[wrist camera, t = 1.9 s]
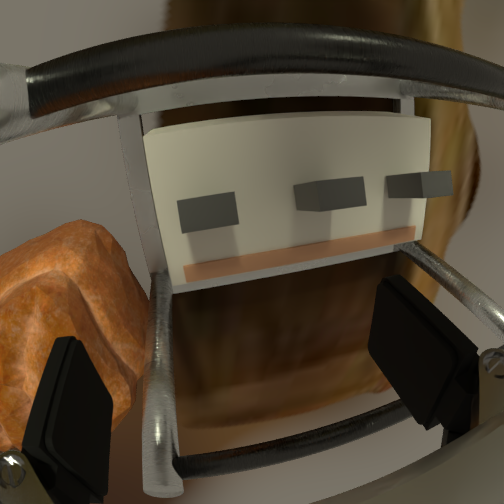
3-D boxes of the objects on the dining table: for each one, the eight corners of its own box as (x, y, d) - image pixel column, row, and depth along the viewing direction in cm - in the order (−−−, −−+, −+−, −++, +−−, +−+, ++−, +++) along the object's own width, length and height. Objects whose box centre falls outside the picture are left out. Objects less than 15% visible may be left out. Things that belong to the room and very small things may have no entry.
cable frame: (115, 89, 20) (-53, 70, 3) (405, 75, 24) (598, 102, 7) (155, 289, 28) (153, 500, 11) (399, 244, 32) (530, 360, 15)
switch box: (152, 129, 22) (142, 137, 17) (387, 111, 25) (432, 119, 20) (173, 248, 27) (172, 287, 21) (384, 214, 30) (422, 240, 24)
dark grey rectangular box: (293, 185, 20) (316, 180, 16) (333, 180, 20) (363, 176, 16) (296, 210, 20) (320, 211, 16) (336, 204, 20) (366, 205, 17)
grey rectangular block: (180, 201, 19) (176, 200, 15) (226, 194, 19) (234, 191, 15) (184, 228, 19) (181, 233, 15) (230, 220, 19) (239, 224, 16)
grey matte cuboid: (385, 175, 21) (420, 172, 17) (415, 173, 21) (450, 170, 17) (388, 198, 21) (423, 198, 17) (417, 194, 22) (453, 195, 18)
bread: (169, 326, 30) (176, 470, 17) (-3, 378, 29) (-35, 474, 15) (102, 197, 24) (26, 315, 10) (-66, 293, 22) (-128, 382, 9)
